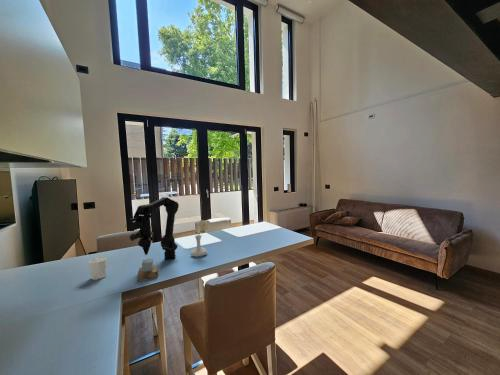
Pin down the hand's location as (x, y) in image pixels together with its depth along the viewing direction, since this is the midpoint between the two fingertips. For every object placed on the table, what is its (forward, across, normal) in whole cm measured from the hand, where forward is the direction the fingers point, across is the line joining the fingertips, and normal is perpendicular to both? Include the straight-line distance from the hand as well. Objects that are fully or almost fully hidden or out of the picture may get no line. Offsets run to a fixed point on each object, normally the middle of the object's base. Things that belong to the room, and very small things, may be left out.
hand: (147, 252), depth 125 cm
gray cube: (+8, +7, 0) cm, 11 cm away
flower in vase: (+12, -13, +32) cm, 37 cm away
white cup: (+12, -3, -26) cm, 29 cm away
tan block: (+12, +7, +1) cm, 14 cm away
